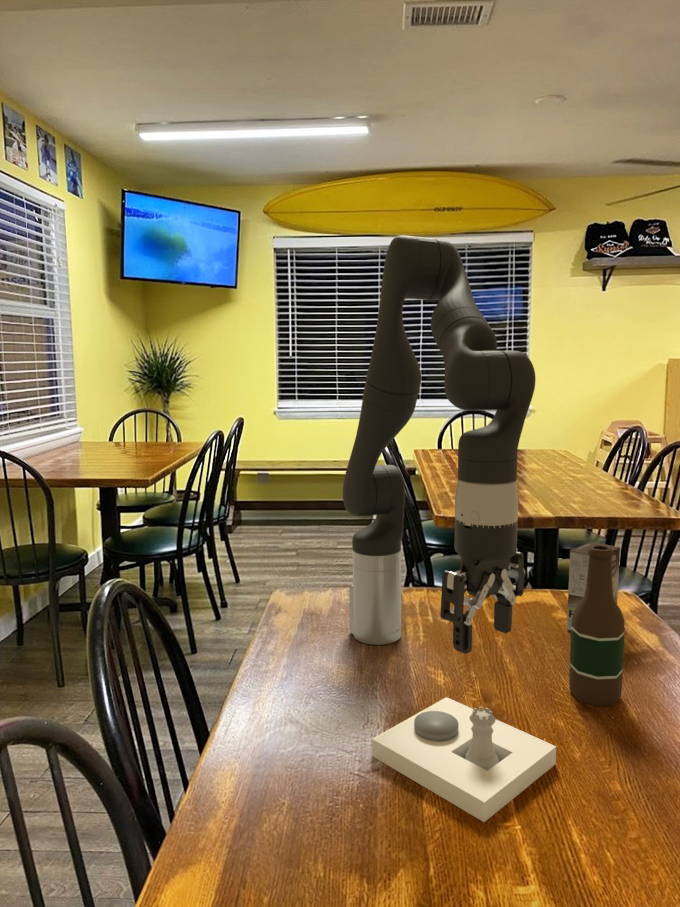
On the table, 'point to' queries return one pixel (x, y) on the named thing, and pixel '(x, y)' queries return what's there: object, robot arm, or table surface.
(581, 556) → the coffee box
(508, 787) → the carrier plate
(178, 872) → the table surface
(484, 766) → the rook chess piece
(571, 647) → the beer bottle
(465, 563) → the robot arm
